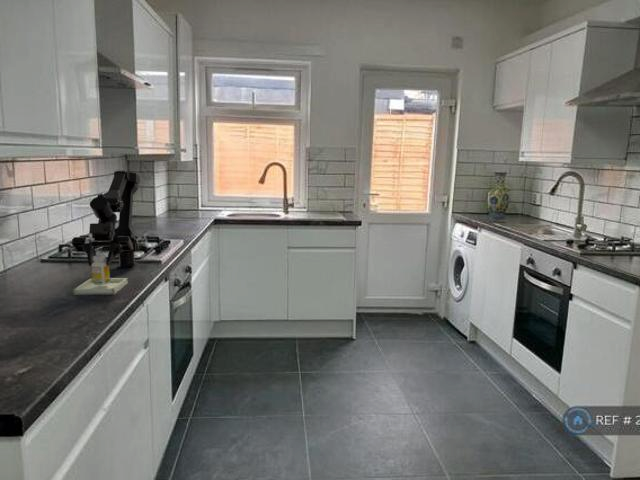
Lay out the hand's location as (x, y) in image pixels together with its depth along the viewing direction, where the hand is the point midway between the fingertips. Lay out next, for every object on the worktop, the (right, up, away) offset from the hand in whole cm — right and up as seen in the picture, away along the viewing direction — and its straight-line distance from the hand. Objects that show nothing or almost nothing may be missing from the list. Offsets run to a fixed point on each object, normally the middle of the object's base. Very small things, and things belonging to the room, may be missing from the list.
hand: (98, 265), depth 161 cm
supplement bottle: (0, -7, +3) cm, 7 cm away
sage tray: (0, -8, +3) cm, 9 cm away
